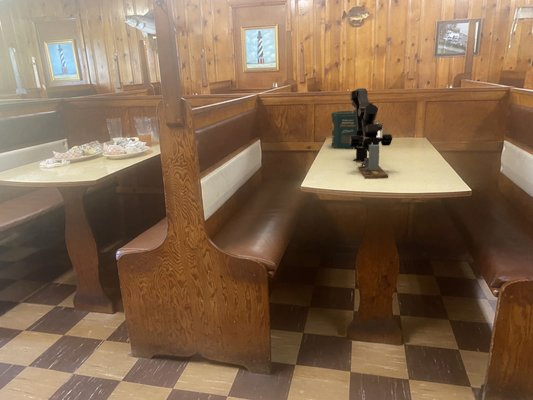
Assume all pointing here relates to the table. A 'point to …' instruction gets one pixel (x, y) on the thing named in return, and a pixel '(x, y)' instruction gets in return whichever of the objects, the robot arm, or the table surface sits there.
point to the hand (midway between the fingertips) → (372, 155)
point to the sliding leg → (373, 158)
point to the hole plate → (371, 171)
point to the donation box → (343, 128)
